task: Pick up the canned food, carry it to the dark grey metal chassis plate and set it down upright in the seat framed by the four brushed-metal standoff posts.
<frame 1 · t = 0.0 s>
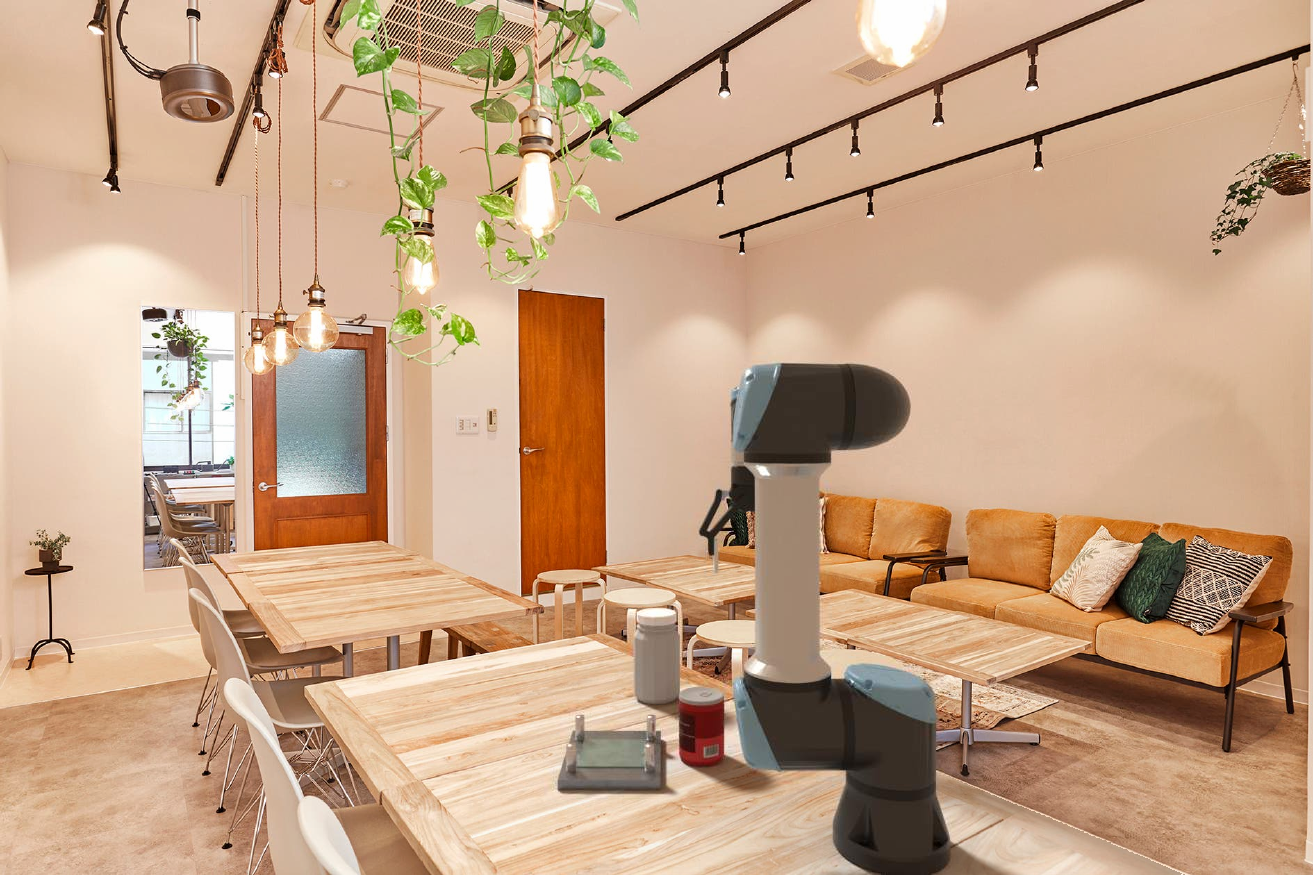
hand: (750, 571, 153), 28 cm above the table, fingers open, 13 cm apart
canned food: (701, 758, 132), on the table
chassis: (613, 762, 130), on the table
jar: (656, 698, 162), on the table
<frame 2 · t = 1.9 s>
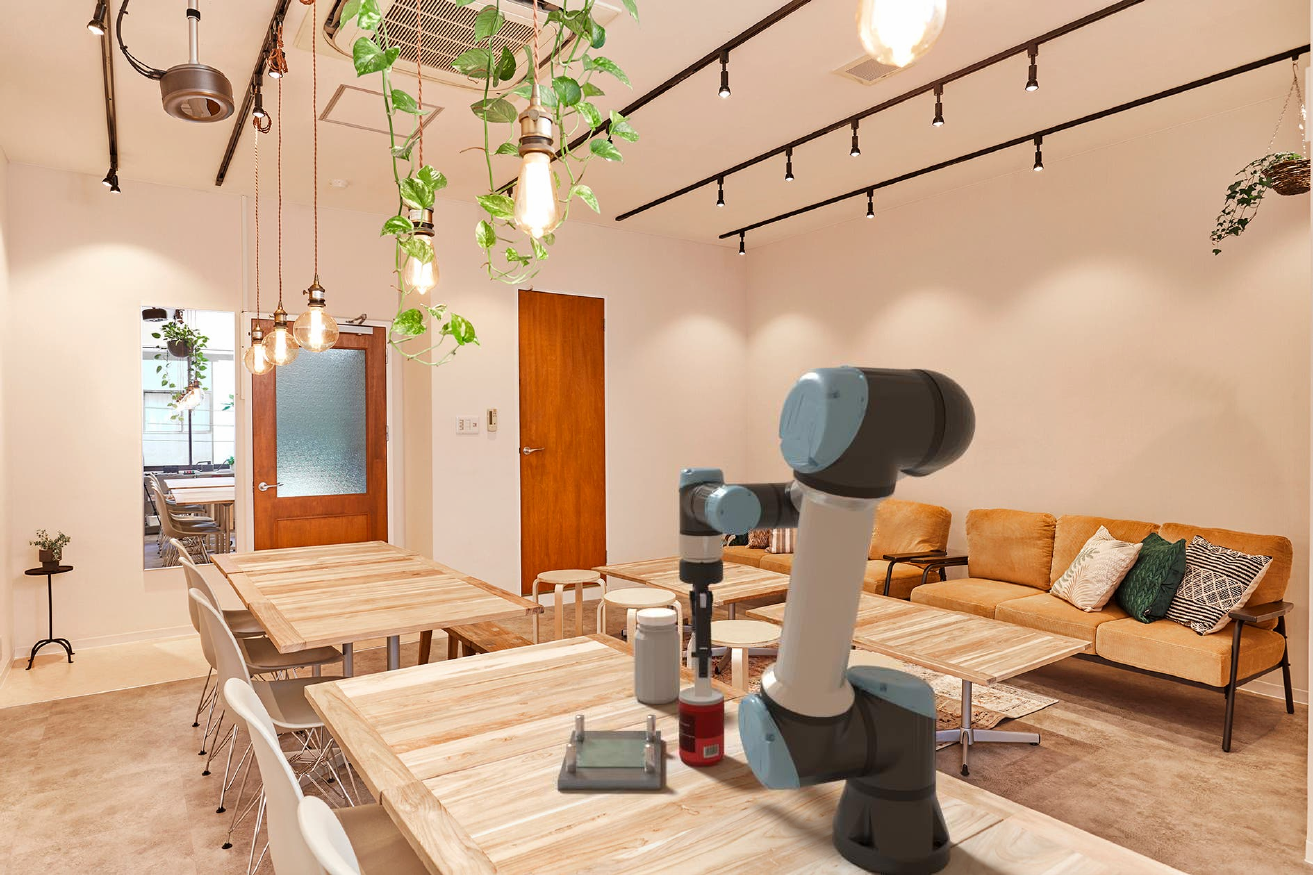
hand: (700, 682, 132), 13 cm above the table, fingers open, 13 cm apart
nothing on the table moved.
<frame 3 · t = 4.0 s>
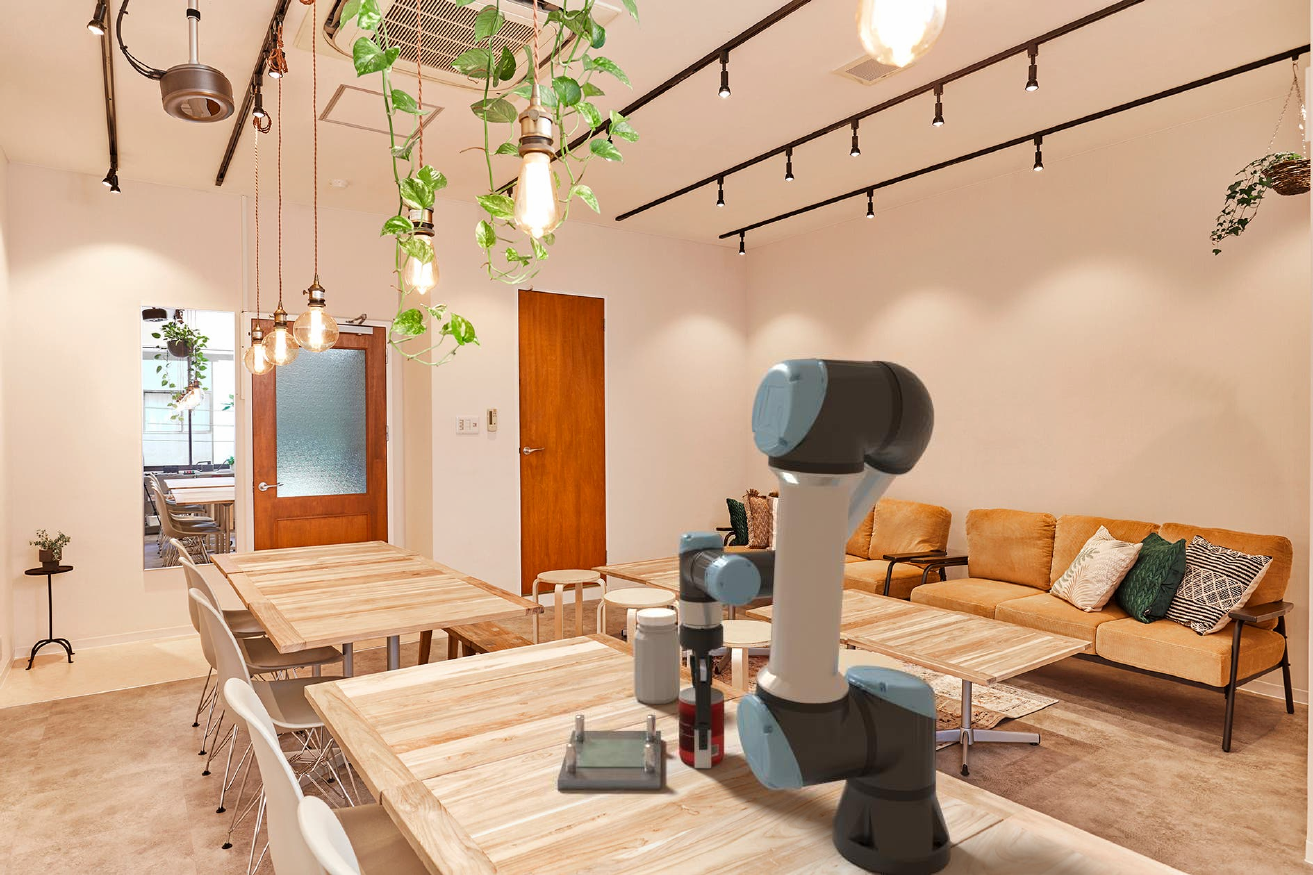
hand: (701, 755, 132), 0 cm above the table, fingers closed on canned food, 8 cm apart
canned food: (701, 758, 132), on the table, touching gripper
everything else where it was.
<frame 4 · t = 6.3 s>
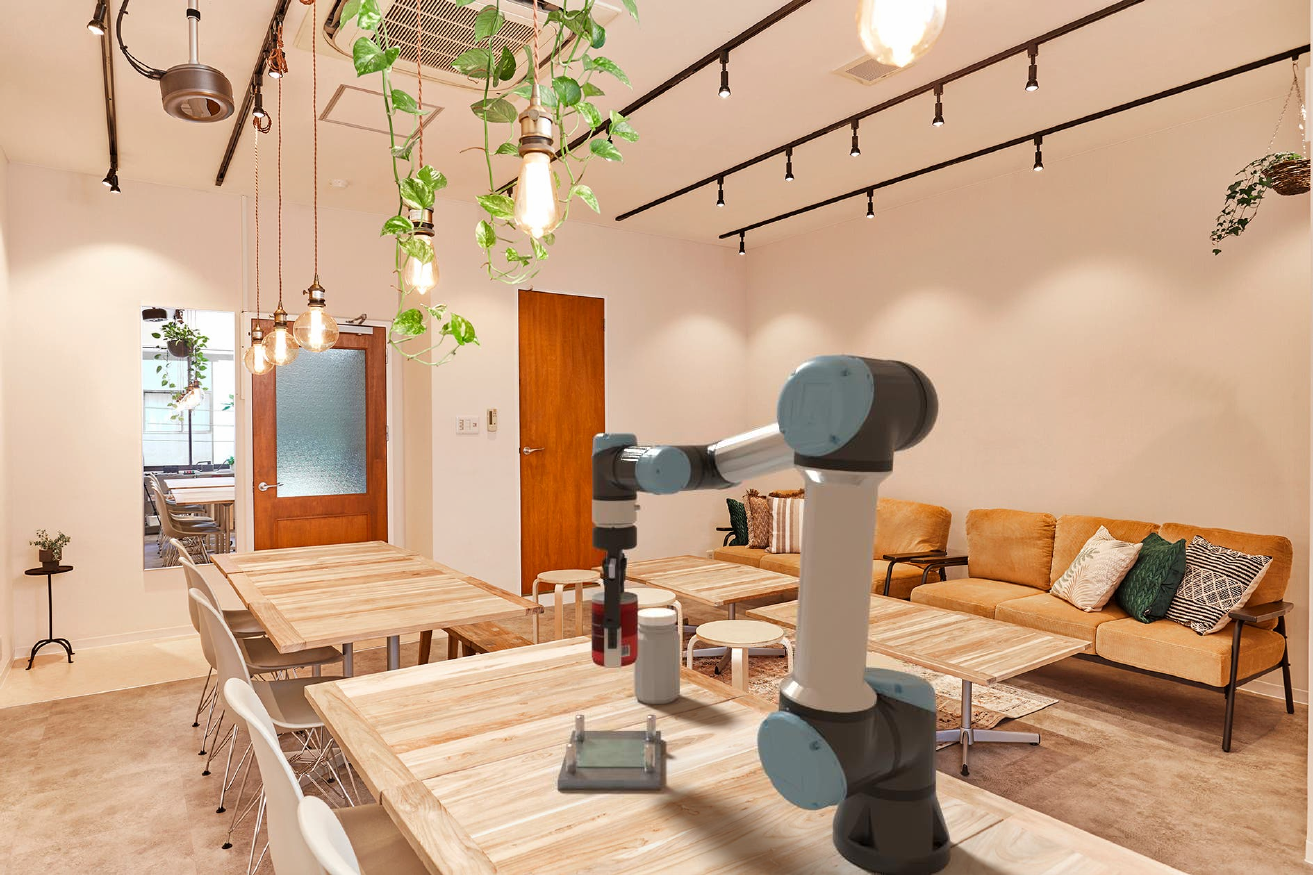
hand: (614, 659, 130), 17 cm above the table, fingers closed on canned food, 8 cm apart
canned food: (614, 661, 130), point 17 cm above the table, touching gripper
everything else where it was.
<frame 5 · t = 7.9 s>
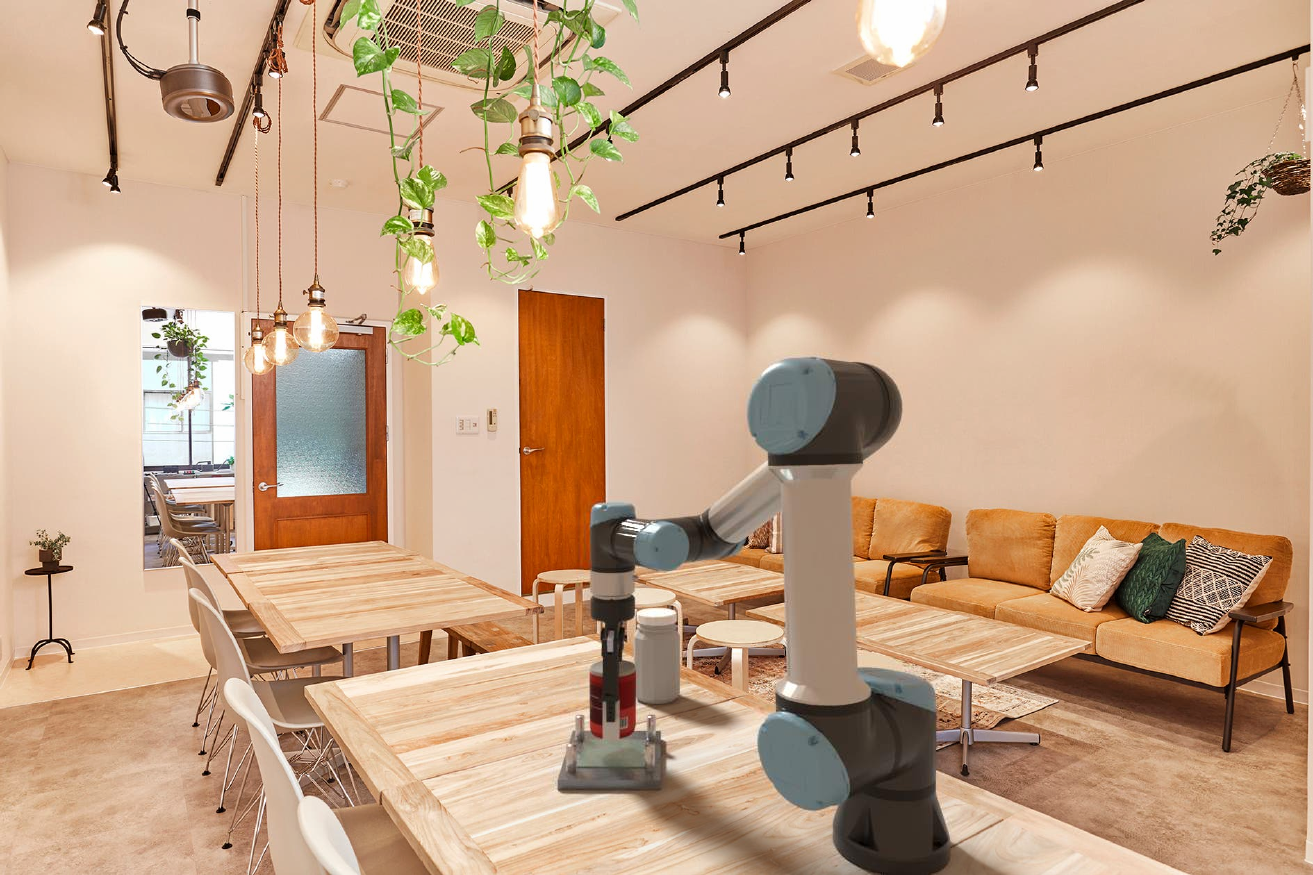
hand: (612, 729, 130), 6 cm above the table, fingers closed on canned food, 8 cm apart
canned food: (612, 732, 130), point 5 cm above the table, touching gripper
everything else where it was.
when the fingers open (3 cm above the table, at t = 8.8 s): canned food stays where it is, resting on chassis.
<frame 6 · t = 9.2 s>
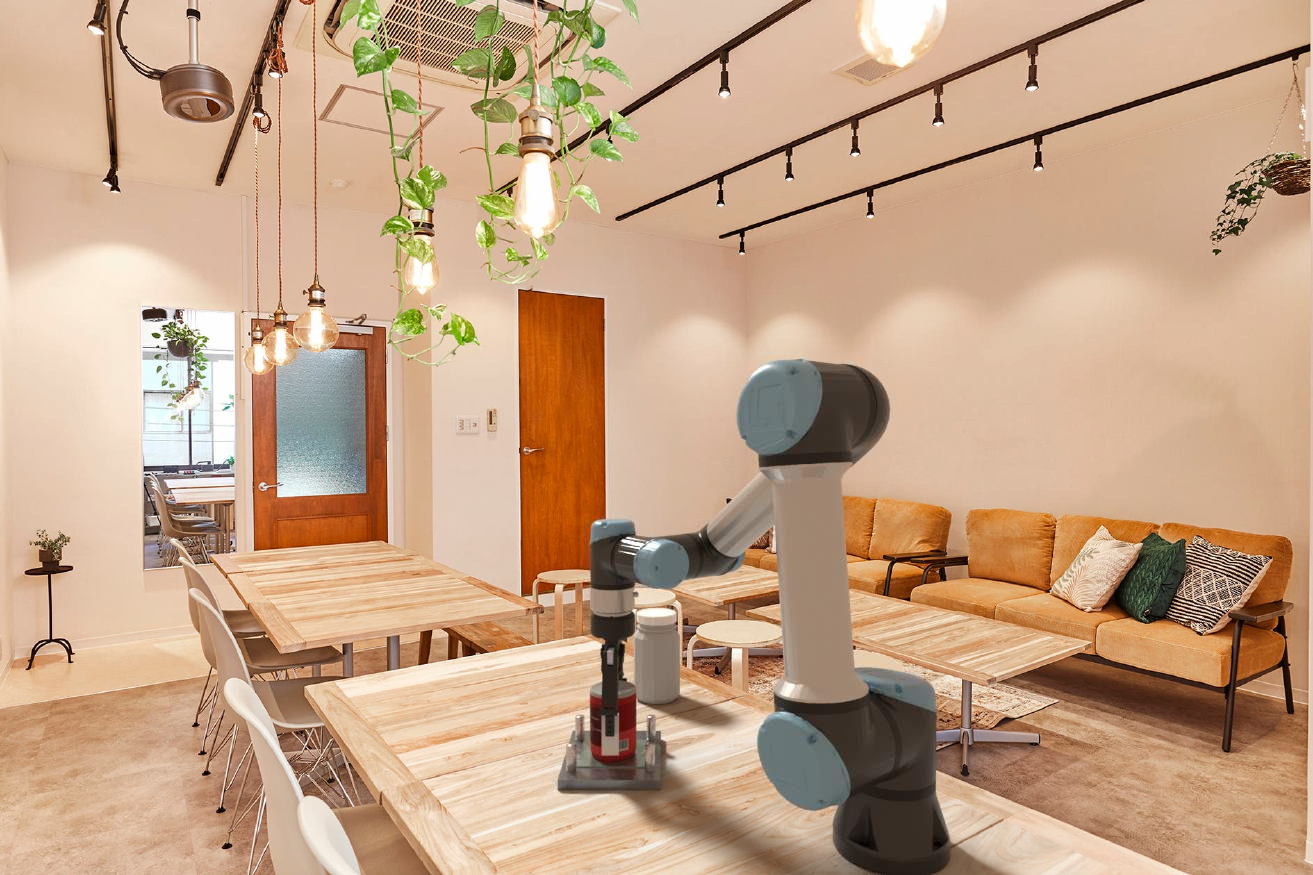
hand: (613, 738, 130), 4 cm above the table, fingers open, 13 cm apart
canned food: (613, 753, 130), point 2 cm above the table, touching chassis
everything else where it was.
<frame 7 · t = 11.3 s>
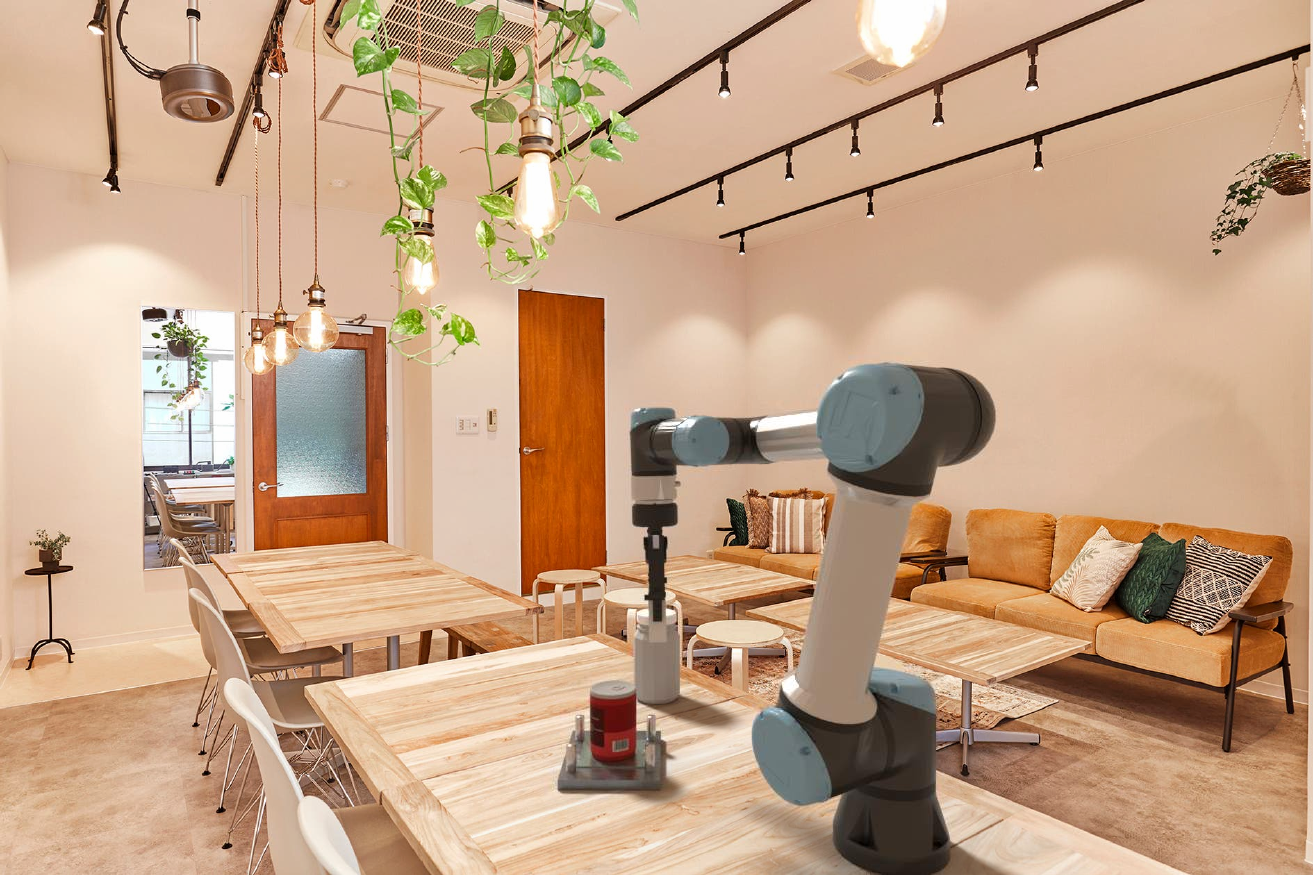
hand: (657, 631, 126), 23 cm above the table, fingers open, 13 cm apart
nothing on the table moved.
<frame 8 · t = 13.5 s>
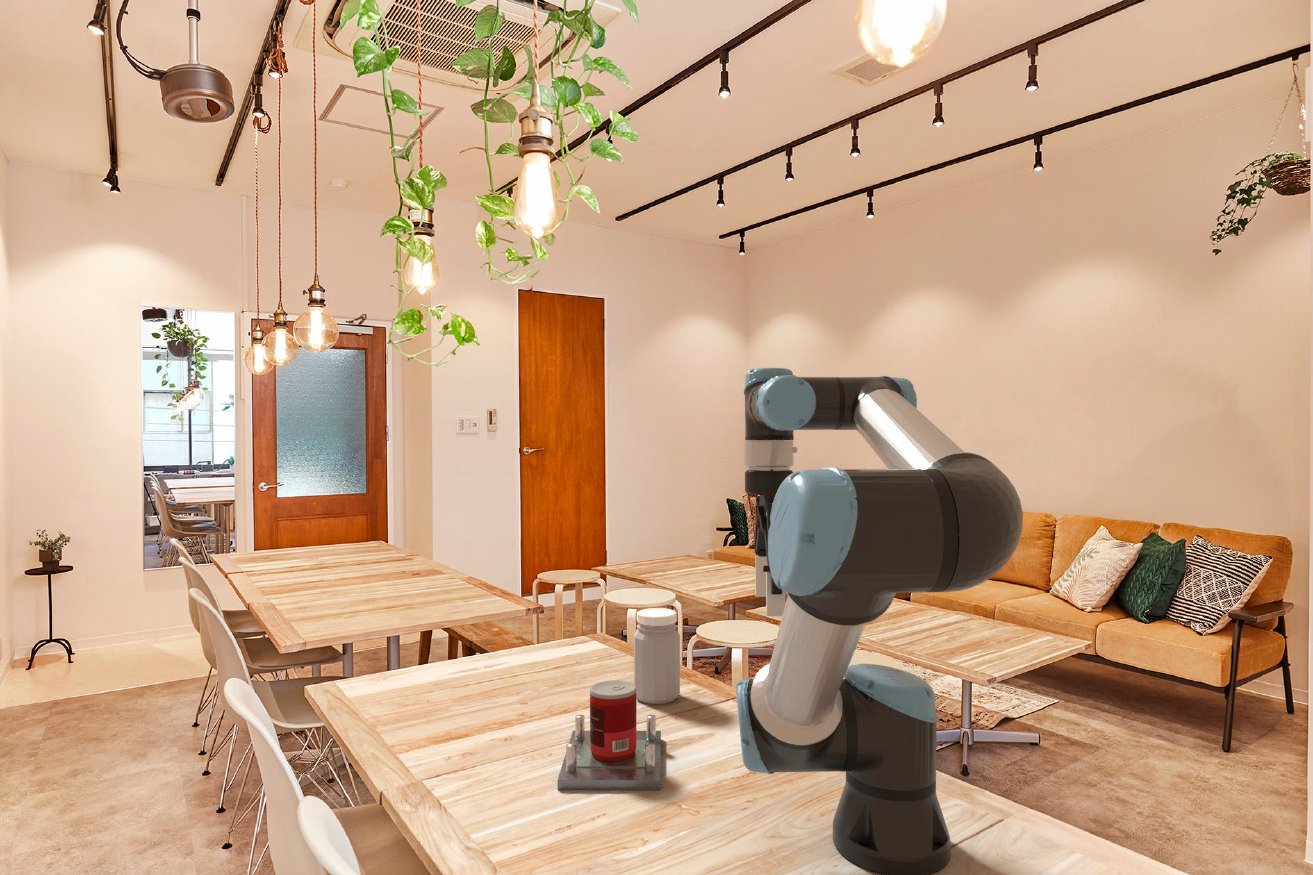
hand: (769, 605, 120), 29 cm above the table, fingers open, 13 cm apart
nothing on the table moved.
at the end: canned food 0.1 cm from the chassis (horizontally); canned food tilted 0°; canned food touching chassis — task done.
